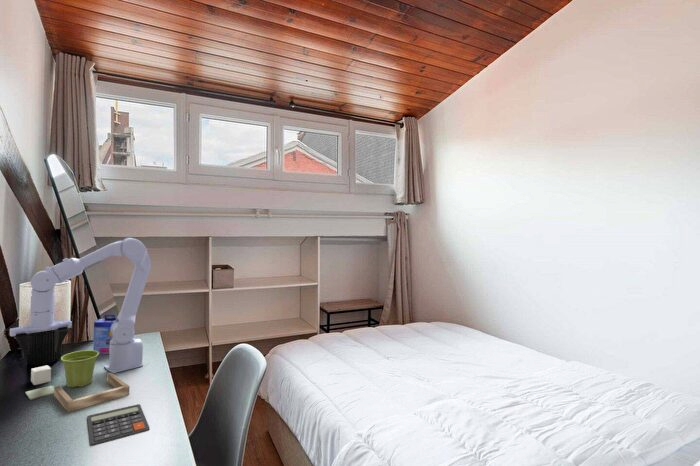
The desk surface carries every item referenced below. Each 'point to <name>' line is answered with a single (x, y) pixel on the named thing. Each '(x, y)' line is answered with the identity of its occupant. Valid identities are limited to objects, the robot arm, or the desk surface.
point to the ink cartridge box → (103, 334)
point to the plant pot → (79, 367)
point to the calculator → (116, 424)
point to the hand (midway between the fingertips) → (41, 354)
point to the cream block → (40, 375)
